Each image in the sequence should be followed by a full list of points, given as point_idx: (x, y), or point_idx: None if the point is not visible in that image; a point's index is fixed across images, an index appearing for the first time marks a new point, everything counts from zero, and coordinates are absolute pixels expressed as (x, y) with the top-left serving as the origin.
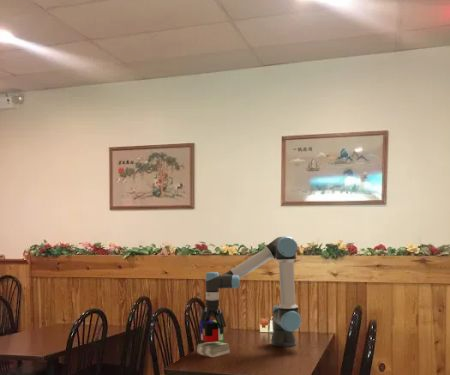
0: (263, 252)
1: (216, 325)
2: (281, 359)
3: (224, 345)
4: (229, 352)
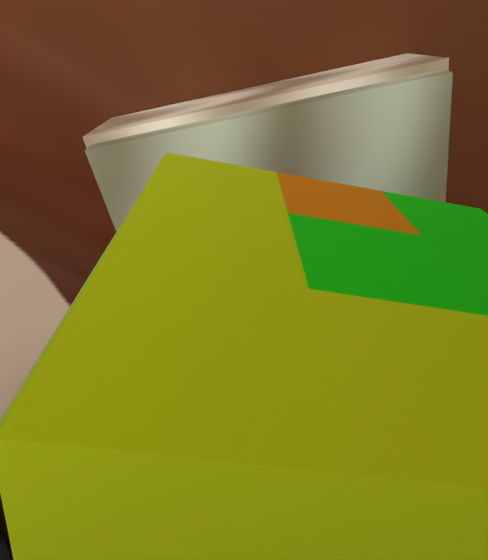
0: None
1: None
2: None
3: (442, 168)
4: (409, 54)
